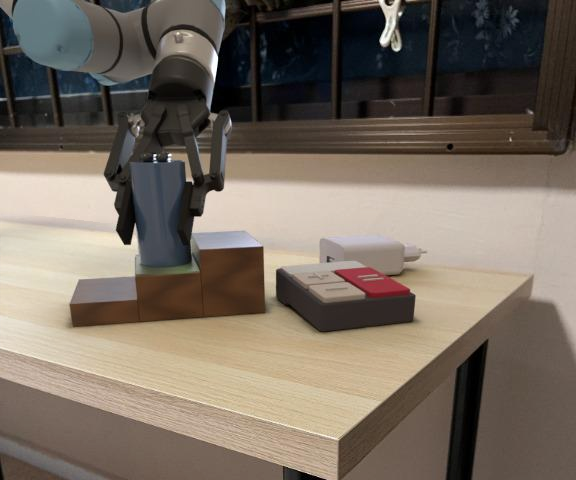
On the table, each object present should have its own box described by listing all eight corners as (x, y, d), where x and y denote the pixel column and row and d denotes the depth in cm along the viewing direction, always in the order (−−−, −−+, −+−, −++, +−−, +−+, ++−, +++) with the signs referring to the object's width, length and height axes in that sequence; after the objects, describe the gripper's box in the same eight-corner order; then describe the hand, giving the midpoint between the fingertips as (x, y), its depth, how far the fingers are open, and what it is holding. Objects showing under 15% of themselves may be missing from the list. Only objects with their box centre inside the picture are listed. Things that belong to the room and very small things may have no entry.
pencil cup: (149, 256, 74) (139, 151, 69) (197, 257, 73) (190, 151, 69) (132, 267, 68) (119, 153, 64) (184, 267, 68) (175, 153, 63)
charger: (438, 273, 88) (342, 281, 84) (408, 261, 96) (319, 268, 92) (441, 239, 86) (343, 246, 82) (410, 230, 94) (319, 236, 90)
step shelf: (72, 326, 65) (62, 256, 62) (81, 299, 76) (72, 238, 73) (265, 312, 69) (263, 246, 67) (247, 288, 80) (245, 230, 77)
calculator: (321, 297, 61) (274, 262, 74) (320, 338, 63) (274, 296, 75) (418, 288, 64) (357, 255, 77) (414, 326, 66) (355, 288, 79)
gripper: (97, 56, 72) (54, 215, 64) (255, 52, 70) (233, 215, 61) (119, 107, 79) (83, 256, 71) (263, 104, 77) (244, 258, 68)
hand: (153, 237), depth 66 cm, fingers closed on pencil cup, 6 cm apart
